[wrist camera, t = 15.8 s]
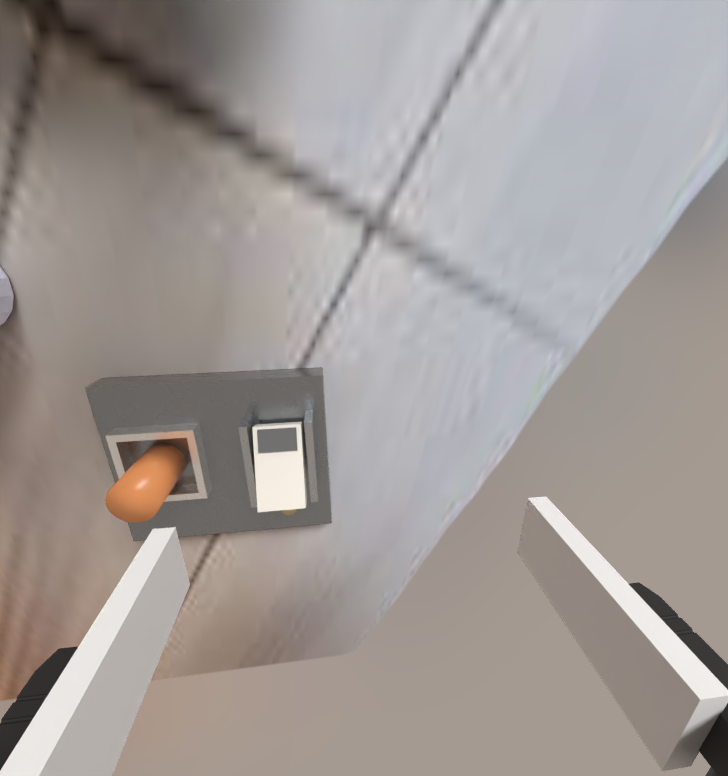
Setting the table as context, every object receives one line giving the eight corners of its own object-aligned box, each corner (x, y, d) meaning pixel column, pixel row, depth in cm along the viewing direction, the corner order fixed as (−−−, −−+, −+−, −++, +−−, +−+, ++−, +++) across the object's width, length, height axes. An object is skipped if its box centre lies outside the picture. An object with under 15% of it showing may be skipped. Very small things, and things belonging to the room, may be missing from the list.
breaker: (256, 424, 38) (251, 427, 36) (302, 421, 38) (300, 424, 36) (261, 505, 38) (257, 513, 36) (306, 501, 39) (305, 509, 36)
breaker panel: (102, 378, 38) (62, 399, 32) (322, 367, 40) (322, 385, 34) (145, 523, 45) (119, 562, 39) (331, 507, 47) (332, 542, 42)
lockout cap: (137, 445, 38) (99, 484, 31) (181, 442, 38) (152, 480, 32) (147, 480, 40) (112, 524, 33) (189, 477, 40) (163, 520, 33)
